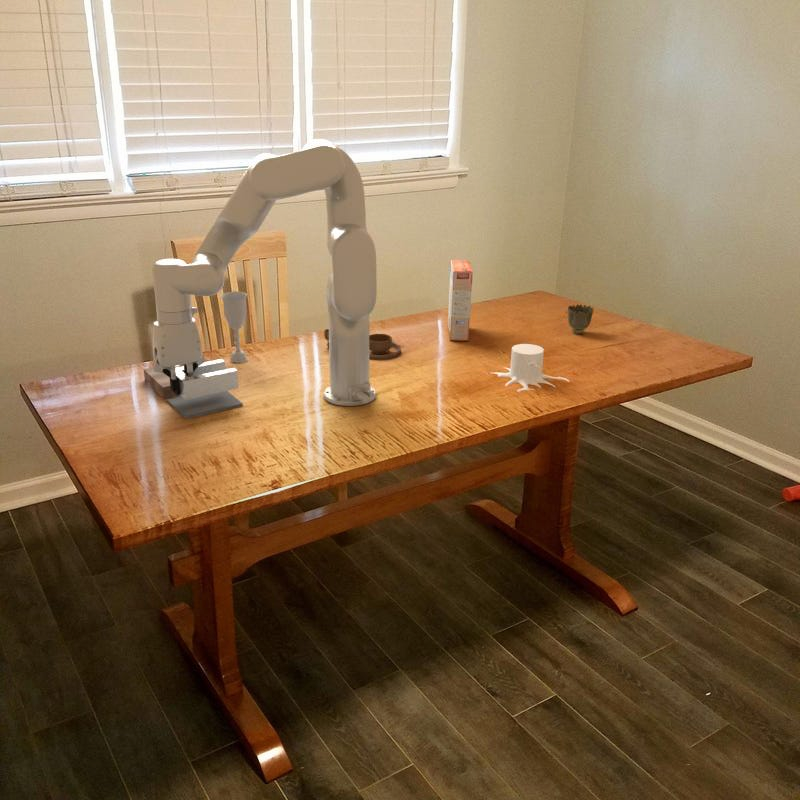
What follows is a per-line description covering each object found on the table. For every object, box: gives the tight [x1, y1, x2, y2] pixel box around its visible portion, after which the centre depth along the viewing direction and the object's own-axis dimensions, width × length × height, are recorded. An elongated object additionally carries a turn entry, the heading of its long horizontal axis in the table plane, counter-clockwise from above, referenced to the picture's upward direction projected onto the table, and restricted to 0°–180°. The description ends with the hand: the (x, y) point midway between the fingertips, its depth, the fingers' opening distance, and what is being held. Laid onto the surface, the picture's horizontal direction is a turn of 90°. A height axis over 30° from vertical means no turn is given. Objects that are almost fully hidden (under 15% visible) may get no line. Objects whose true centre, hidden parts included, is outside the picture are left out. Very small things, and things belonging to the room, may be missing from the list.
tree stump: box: [491, 343, 570, 393], centre depth 205 cm, size 20×19×8 cm
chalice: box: [220, 291, 249, 364], centre depth 212 cm, size 7×7×18 cm
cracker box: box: [447, 259, 474, 342], centre depth 234 cm, size 14×6×21 cm, turn 179°
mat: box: [166, 391, 244, 420], centre depth 188 cm, size 12×14×1 cm
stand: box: [143, 365, 183, 399], centre depth 198 cm, size 14×13×6 cm
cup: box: [567, 303, 594, 335], centre depth 239 cm, size 8×7×8 cm
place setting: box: [323, 328, 403, 360], centre depth 224 cm, size 18×20×6 cm
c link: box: [176, 358, 239, 400], centre depth 186 cm, size 13×9×4 cm
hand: (181, 391), depth 184 cm, fingers closed on c link, 2 cm apart
